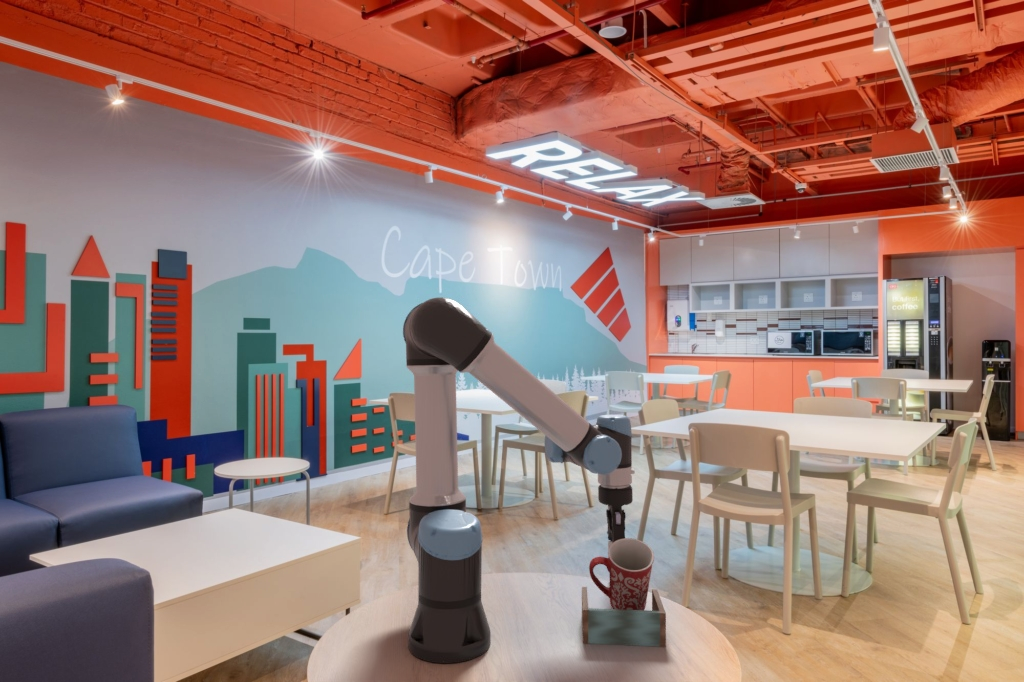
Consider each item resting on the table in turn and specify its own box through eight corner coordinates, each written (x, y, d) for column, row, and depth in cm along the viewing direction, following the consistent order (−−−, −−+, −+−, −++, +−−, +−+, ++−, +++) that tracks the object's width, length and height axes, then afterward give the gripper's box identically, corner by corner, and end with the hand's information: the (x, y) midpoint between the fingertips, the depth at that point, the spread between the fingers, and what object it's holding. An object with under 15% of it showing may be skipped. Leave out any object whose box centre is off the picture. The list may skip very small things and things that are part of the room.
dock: (582, 643, 118) (582, 610, 118) (581, 616, 130) (581, 586, 130) (665, 646, 117) (665, 613, 117) (657, 619, 129) (657, 589, 129)
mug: (648, 587, 136) (652, 538, 130) (652, 622, 128) (656, 572, 122) (589, 583, 138) (589, 535, 132) (588, 618, 130) (589, 568, 124)
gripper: (638, 498, 130) (640, 603, 130) (626, 473, 155) (628, 561, 155) (601, 498, 131) (603, 602, 131) (595, 473, 156) (597, 561, 156)
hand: (616, 580), depth 143 cm, fingers open, 13 cm apart
